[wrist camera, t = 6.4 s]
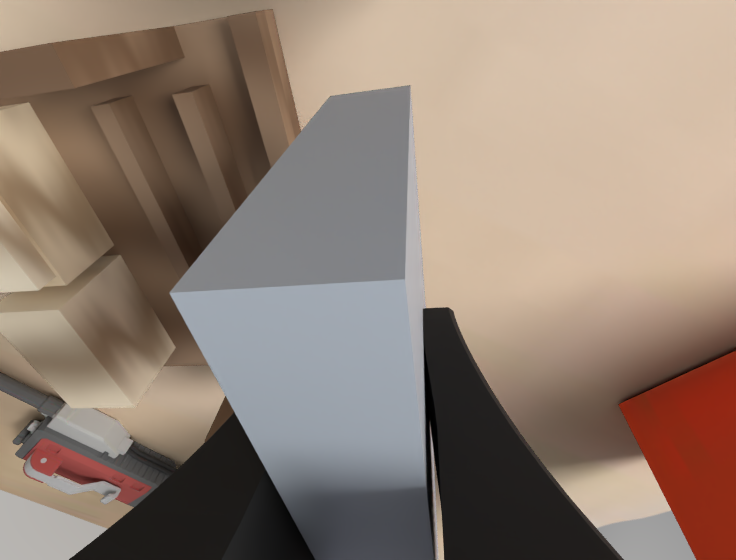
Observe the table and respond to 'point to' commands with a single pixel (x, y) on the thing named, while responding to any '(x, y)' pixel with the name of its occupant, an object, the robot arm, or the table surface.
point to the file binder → (694, 452)
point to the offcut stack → (68, 279)
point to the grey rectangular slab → (330, 330)
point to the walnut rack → (163, 138)
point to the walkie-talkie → (84, 450)
